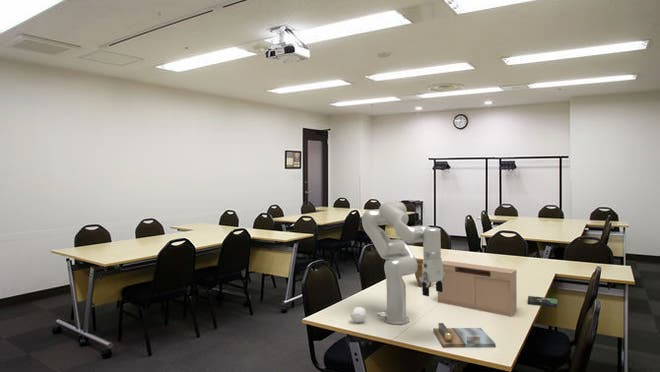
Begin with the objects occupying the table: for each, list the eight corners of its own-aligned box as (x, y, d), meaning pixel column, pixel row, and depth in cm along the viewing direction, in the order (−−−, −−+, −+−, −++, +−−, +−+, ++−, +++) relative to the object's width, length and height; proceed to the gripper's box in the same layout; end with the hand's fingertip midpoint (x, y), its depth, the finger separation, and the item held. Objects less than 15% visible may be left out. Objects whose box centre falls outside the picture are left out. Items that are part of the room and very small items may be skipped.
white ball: (357, 318, 213) (357, 303, 213) (369, 321, 208) (369, 306, 208) (347, 322, 207) (347, 307, 206) (360, 326, 202) (360, 310, 202)
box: (510, 317, 211) (510, 273, 210) (437, 302, 237) (436, 263, 236) (516, 312, 219) (516, 269, 218) (444, 298, 244) (444, 260, 244)
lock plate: (443, 347, 176) (443, 337, 176) (433, 331, 194) (433, 321, 194) (495, 347, 175) (495, 336, 175) (480, 331, 193) (480, 321, 193)
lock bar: (452, 341, 177) (452, 334, 177) (445, 342, 177) (445, 334, 177) (443, 329, 192) (443, 322, 191) (437, 329, 192) (437, 322, 192)
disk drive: (527, 305, 231) (558, 308, 224) (527, 300, 231) (558, 303, 224) (527, 300, 240) (557, 303, 234) (527, 295, 240) (557, 298, 234)
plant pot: (434, 283, 278) (433, 259, 278) (437, 289, 263) (437, 264, 263) (411, 283, 280) (411, 259, 279) (413, 289, 265) (413, 264, 264)
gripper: (426, 259, 177) (427, 299, 178) (450, 254, 188) (451, 291, 189) (412, 257, 183) (413, 295, 183) (436, 251, 194) (437, 288, 194)
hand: (432, 293), depth 186 cm, fingers open, 9 cm apart
